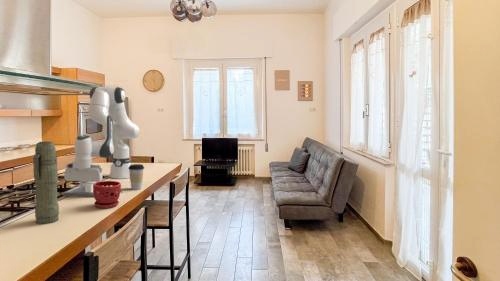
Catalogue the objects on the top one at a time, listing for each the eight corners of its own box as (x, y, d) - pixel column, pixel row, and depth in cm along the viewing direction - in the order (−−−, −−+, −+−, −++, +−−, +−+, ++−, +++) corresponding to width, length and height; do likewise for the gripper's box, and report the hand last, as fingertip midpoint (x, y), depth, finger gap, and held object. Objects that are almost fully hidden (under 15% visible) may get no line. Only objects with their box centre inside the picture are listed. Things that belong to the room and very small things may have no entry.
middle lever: (91, 189, 197) (91, 181, 197) (96, 189, 197) (96, 181, 197) (89, 190, 195) (89, 182, 194) (94, 190, 195) (94, 182, 194)
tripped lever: (87, 191, 192) (87, 183, 191) (93, 191, 192) (92, 183, 191) (85, 192, 189) (85, 184, 189) (90, 192, 189) (90, 184, 189)
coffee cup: (129, 191, 203) (129, 166, 202) (127, 187, 212) (127, 164, 210) (145, 189, 208) (145, 166, 206) (142, 186, 216) (142, 163, 215)
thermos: (28, 224, 142) (25, 143, 139) (46, 216, 154) (43, 140, 151) (48, 225, 142) (46, 143, 139) (64, 216, 154) (63, 141, 150)
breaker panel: (77, 189, 204) (77, 186, 204) (107, 190, 204) (107, 186, 204) (63, 196, 188) (63, 192, 188) (95, 197, 188) (95, 193, 188)
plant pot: (93, 210, 164) (92, 186, 163) (93, 203, 176) (93, 181, 175) (121, 208, 169) (121, 185, 168) (120, 201, 181) (120, 179, 180)
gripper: (104, 164, 192) (104, 187, 193) (68, 163, 192) (69, 186, 193) (99, 166, 186) (99, 190, 187) (62, 164, 186) (63, 189, 187)
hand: (83, 188), depth 190 cm, fingers closed
